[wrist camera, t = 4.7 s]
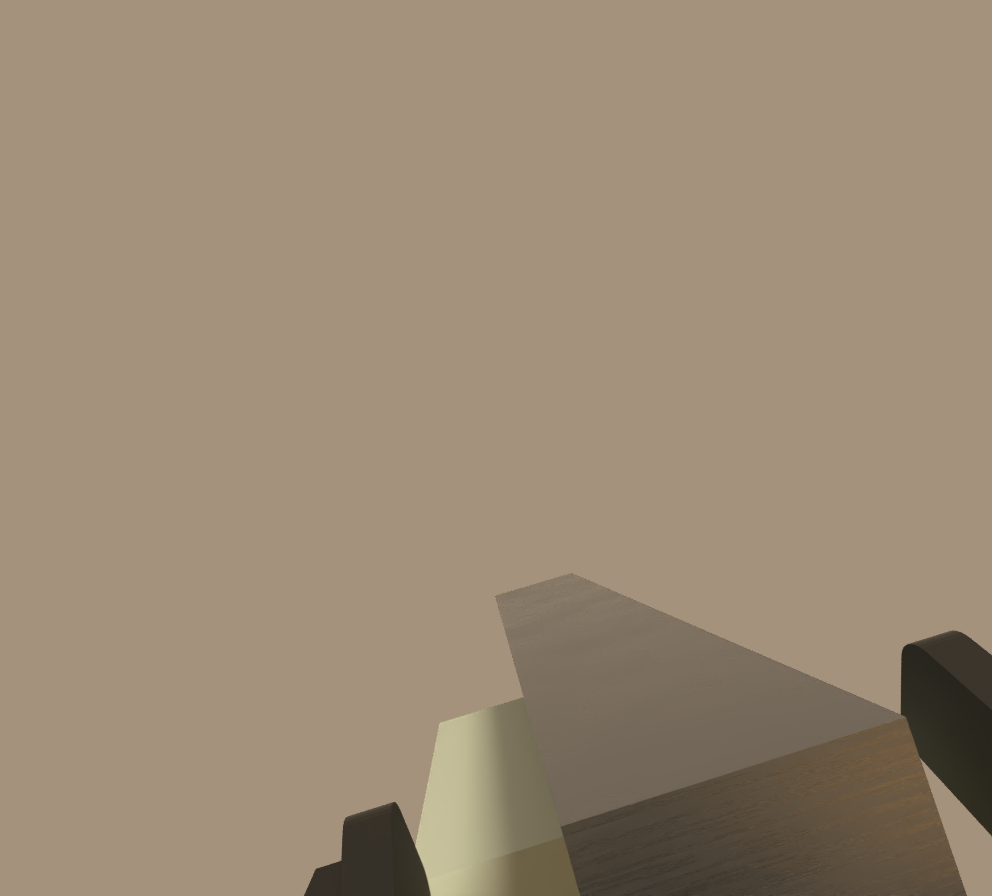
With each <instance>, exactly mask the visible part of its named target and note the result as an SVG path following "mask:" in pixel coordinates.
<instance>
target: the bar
mask: <svg viewBox="0 0 992 896" xmlns="http://www.w3.org/2000/svg"><path fill="white" fill-rule="evenodd" d="M495 597H496V601H497V604H498V608H499V611H500V615H501V618H502V621H503V625H504V629H505V632H506V636H507V639H508V643H509V647H510V650H511V654H512V657H513V661H514V664H515V667H516V671H517V674H518V678H519V682H520V685H521V689H522V692H523V696H524V700H525V703H526V707H527V710H528V714H529V717H530V721H531V724H532V728H533V731H534V735H535V738H536V742H537V746H538V749H539V753H540V756H541V760H542V763H543V767H544V770H545V774H546V777H547V781H548V784H549V788H550V791H551V795H552V799H553V802H554V806H555V809H556V813H557V816H558V820H559V823H560V827H561V830H562V834H563V837H564V841H565V844H566V848H567V851H568V855H569V859H570V862H571V866H572V869H573V873H574V876H575V880H576V883H577V887H578V890H579V894H580V896H967V895H966V892H965V889H964V886H963V883H962V880H961V877H960V875H959V871H958V868H957V866H956V863H955V860H954V857H953V854H952V851H951V848H950V845H949V842H948V839H947V836H946V833H945V830H944V828H943V824H942V821H941V819H940V816H939V813H938V810H937V807H936V804H935V801H934V798H933V795H932V792H931V789H930V787H929V783H928V781H927V777H926V775H925V772H924V769H923V766H922V763H921V760H920V757H919V754H918V751H917V748H916V745H915V742H914V739H913V736H912V733H911V731H910V728H909V725H908V722H907V719H906V717H905V716H902V715H900V714H898V713H895V712H893V711H891V710H888V709H886V708H884V707H881V706H879V705H877V704H875V703H872V702H870V701H868V700H865V699H863V698H861V697H858V696H856V695H854V694H851V693H849V692H847V691H844V690H842V689H839V688H837V687H835V686H833V685H830V684H828V683H826V682H823V681H821V680H819V679H816V678H814V677H811V676H809V675H807V674H805V673H803V672H800V671H798V670H796V669H793V668H791V667H788V666H786V665H784V664H781V663H779V662H777V661H774V660H772V659H770V658H768V657H765V656H763V655H761V654H758V653H756V652H754V651H751V650H749V649H747V648H744V647H742V646H740V645H737V644H735V643H733V642H730V641H728V640H726V639H724V638H721V637H719V636H717V635H714V634H712V633H709V632H707V631H705V630H703V629H700V628H698V627H696V626H693V625H691V624H689V623H686V622H684V621H682V620H679V619H677V618H675V617H672V616H670V615H668V614H666V613H663V612H661V611H658V610H656V609H654V608H651V607H649V606H647V605H645V604H642V603H640V602H637V601H635V600H633V599H631V598H628V597H626V596H624V595H621V594H619V593H617V592H614V591H612V590H610V589H607V588H605V587H603V586H601V585H598V584H596V583H593V582H591V581H589V580H587V579H584V578H582V577H580V576H577V575H575V574H573V573H571V574H568V575H564V576H561V577H557V578H554V579H551V580H547V581H544V582H540V583H537V584H534V585H530V586H527V587H524V588H520V589H517V590H514V591H510V592H507V593H503V594H500V595H497V596H495Z"/></svg>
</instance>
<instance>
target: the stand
mask: <svg viewBox="0 0 992 896" xmlns="http://www.w3.org/2000/svg"><path fill="white" fill-rule="evenodd" d="M415 847H416V849H417V852H418V854H419V856H420V859H421V861H422V864H423V866H424V869H425V872H426V876H427V880H428V884H429V888H430V893H431V896H580V894H579V890H578V887H577V883H576V880H575V876H574V873H573V869H572V866H571V862H570V859H569V855H568V851H567V848H566V844H565V841H564V837H563V834H562V830H561V827H560V823H559V820H558V816H557V813H556V809H555V806H554V802H553V799H552V795H551V791H550V788H549V784H548V781H547V777H546V774H545V770H544V767H543V763H542V760H541V756H540V753H539V749H538V746H537V742H536V738H535V735H534V731H533V728H532V724H531V721H530V717H529V714H528V710H527V707H526V703H525V700H524V697H523V698H520V699H517V700H514V701H510V702H507V703H504V704H501V705H497V706H494V707H491V708H487V709H484V710H481V711H477V712H474V713H471V714H468V715H464V716H461V717H458V718H455V719H451V720H448V721H445V722H442V723H440V724H439V730H438V734H437V739H436V744H435V750H434V755H433V760H432V765H431V770H430V775H429V780H428V785H427V791H426V795H425V801H424V806H423V811H422V816H421V821H420V827H419V831H418V836H417V841H416V846H415Z"/></svg>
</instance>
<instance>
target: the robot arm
mask: <svg viewBox="0 0 992 896" xmlns="http://www.w3.org/2000/svg"><path fill="white" fill-rule="evenodd" d="M901 661H902V663H901V715H902V716H905V717H906V719H907V722H908V725H909V728H910V731H911V733H912V736H913V739H914V742H915V745H916V748H917V751H918V754H919V757H920V758H921V759H922V760H923V762H925V764H926V765H927V766H928V767H929V768H930V769H931V770H932V771H933V772H934V774H935V775H936V776H937V777H938V778H939V779H940V780H941V781H942V782H943V783H944V784H945V786H947V788H948V789H949V790H950V791H951V792H952V793H953V794H954V795H955V796H956V798H957V799H958V800H959V801H960V802H961V803H962V804H963V805H964V806H965V807H966V808H967V809H968V811H969V812H970V813H971V814H972V815H973V816H974V817H975V818H976V819H977V820H978V822H979V823H980V824H981V825H982V826H983V827H984V828H985V829H986V830H987V831H988V832H989V833H990V834H991V836H992V655H991V654H989V653H988V652H987V651H986V650H984V649H983V648H982V647H981V646H979V645H978V644H977V643H976V642H974V641H973V640H972V639H971V638H969V637H968V636H966V635H965V634H963V633H961V632H958V631H949V632H946V633H943V634H939V635H936V636H933V637H930V638H926V639H923V640H920V641H917V642H914V643H911V644H908V645H906V646H905V647H904V648H903V650H902V659H901ZM342 837H343V838H342V860H341V861H340V862H337V863H333V864H330V865H327V866H324V867H321V868H317V869H316V870H315V872H314V874H313V877H312V879H311V881H310V884H309V886H308V888H307V890H306V893H305V895H304V896H431V893H430V888H429V884H428V880H427V876H426V872H425V869H424V866H423V864H422V861H421V859H420V856H419V854H418V852H417V849H416V847H415V845H414V842H413V840H412V837H411V835H410V832H409V830H408V828H407V825H406V823H405V820H404V818H403V816H402V813H401V811H400V809H399V807H398V805H397V804H396V803H395V802H393V803H389V804H386V805H383V806H380V807H377V808H373V809H370V810H367V811H364V812H360V813H357V814H354V815H351V816H348V817H346V818H345V821H344V825H343V836H342Z"/></svg>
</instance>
